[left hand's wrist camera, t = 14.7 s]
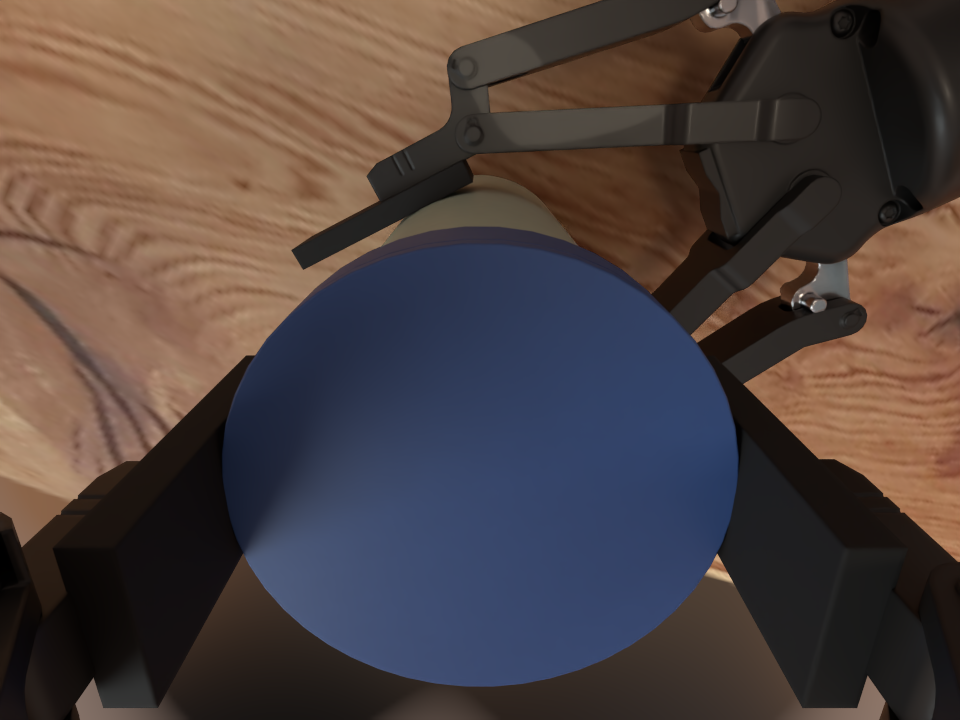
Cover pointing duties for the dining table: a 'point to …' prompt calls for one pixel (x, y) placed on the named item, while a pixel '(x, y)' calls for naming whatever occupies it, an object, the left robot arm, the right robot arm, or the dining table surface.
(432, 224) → the jar
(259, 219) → the dining table surface
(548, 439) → the lid
